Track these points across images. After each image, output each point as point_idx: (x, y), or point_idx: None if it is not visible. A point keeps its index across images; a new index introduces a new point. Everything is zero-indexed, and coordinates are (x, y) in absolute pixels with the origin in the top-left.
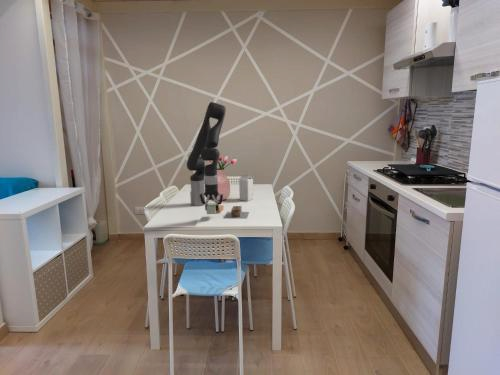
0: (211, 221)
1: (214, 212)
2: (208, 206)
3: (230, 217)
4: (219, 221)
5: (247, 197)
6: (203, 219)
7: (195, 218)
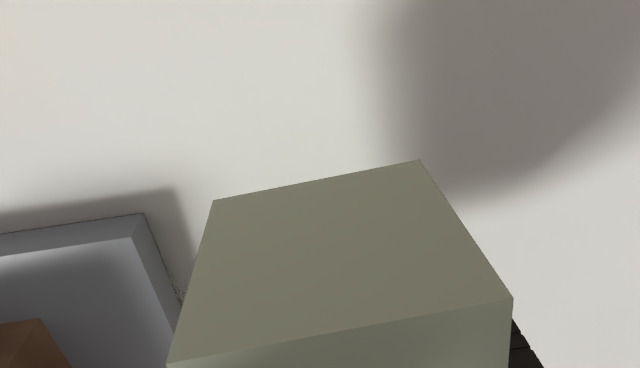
0: (315, 147)
1: (227, 219)
2: (437, 327)
3: (36, 292)
4: (186, 171)
5: None
6: (462, 209)
7: (580, 226)
